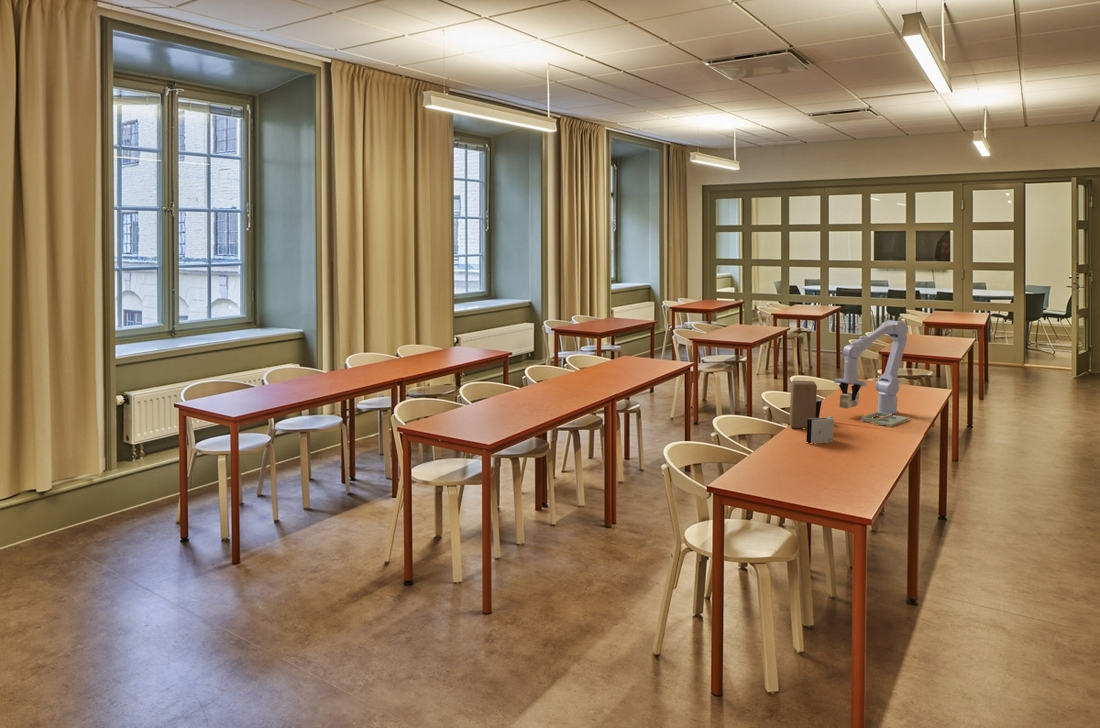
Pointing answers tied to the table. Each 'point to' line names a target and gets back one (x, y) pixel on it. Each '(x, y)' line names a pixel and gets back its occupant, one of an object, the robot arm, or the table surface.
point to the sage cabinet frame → (884, 419)
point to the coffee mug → (818, 407)
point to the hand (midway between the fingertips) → (849, 399)
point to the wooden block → (802, 403)
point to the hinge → (820, 430)
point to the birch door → (848, 400)
